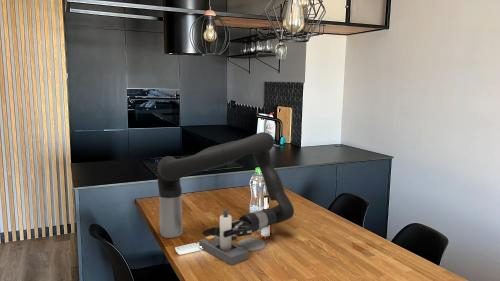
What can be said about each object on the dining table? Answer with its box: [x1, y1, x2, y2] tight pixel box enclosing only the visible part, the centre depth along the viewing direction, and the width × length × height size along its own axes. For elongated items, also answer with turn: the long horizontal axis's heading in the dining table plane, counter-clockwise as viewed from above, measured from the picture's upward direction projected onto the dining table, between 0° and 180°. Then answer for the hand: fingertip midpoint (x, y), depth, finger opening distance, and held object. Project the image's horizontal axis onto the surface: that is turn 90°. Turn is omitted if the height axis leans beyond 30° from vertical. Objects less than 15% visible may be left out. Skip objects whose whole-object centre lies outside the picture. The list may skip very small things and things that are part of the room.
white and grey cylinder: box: [219, 208, 233, 252], centre depth 148 cm, size 4×4×17 cm
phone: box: [201, 226, 238, 242], centre depth 167 cm, size 8×1×15 cm
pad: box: [237, 237, 266, 252], centre depth 158 cm, size 11×11×1 cm
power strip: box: [198, 235, 249, 266], centre depth 151 cm, size 20×8×4 cm, turn 42°
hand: (220, 232), depth 146 cm, fingers closed on white and grey cylinder, 4 cm apart
